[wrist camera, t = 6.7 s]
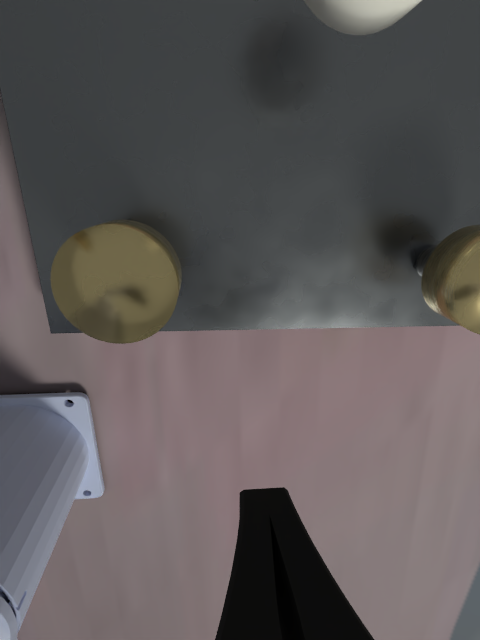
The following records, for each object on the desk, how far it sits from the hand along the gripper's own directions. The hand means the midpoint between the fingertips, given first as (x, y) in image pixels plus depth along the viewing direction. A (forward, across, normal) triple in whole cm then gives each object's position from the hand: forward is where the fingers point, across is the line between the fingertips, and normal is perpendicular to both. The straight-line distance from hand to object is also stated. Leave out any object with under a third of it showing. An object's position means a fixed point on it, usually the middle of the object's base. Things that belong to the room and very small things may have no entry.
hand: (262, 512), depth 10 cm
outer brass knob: (+8, -9, -6) cm, 14 cm away
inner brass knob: (+8, +5, -6) cm, 11 cm away
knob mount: (+10, -2, -10) cm, 15 cm away
